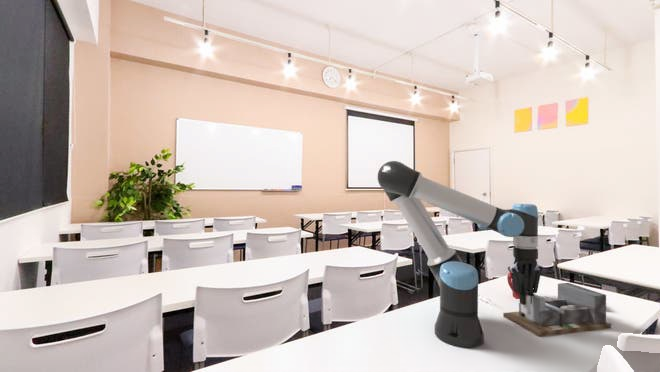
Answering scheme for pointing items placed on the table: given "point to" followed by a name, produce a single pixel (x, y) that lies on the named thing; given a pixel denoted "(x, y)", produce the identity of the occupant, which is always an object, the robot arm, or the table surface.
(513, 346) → the table surface
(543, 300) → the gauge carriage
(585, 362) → the table surface
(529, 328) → the grey block structure
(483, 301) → the stylus pen
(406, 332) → the table surface
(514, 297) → the mug
